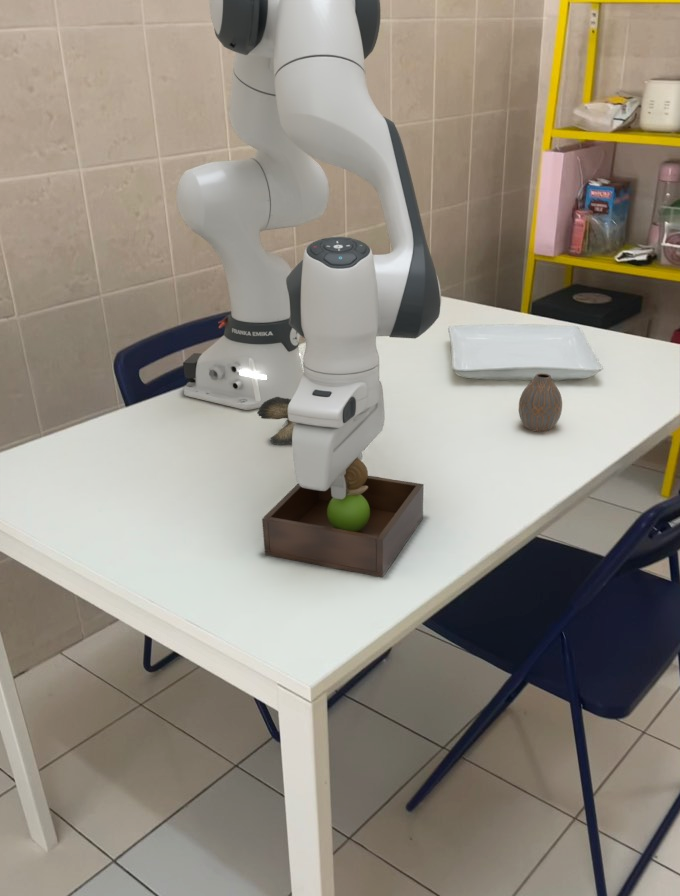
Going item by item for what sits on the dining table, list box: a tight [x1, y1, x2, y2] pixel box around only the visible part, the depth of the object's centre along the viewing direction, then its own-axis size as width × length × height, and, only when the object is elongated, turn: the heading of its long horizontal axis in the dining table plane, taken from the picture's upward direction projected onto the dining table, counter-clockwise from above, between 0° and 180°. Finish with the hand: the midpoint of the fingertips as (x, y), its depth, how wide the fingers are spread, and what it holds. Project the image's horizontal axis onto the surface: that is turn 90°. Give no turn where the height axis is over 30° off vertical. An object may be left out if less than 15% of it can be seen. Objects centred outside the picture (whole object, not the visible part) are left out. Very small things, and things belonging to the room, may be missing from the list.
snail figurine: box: [327, 458, 370, 532], centre depth 109 cm, size 5×6×12 cm
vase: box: [518, 373, 563, 432], centre depth 141 cm, size 7×7×9 cm
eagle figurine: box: [257, 397, 296, 446], centre depth 140 cm, size 8×7×9 cm
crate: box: [261, 475, 425, 578], centre depth 111 cm, size 16×16×5 cm
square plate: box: [447, 323, 604, 381], centre depth 170 cm, size 27×27×4 cm
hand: (344, 491), depth 109 cm, fingers closed on snail figurine
